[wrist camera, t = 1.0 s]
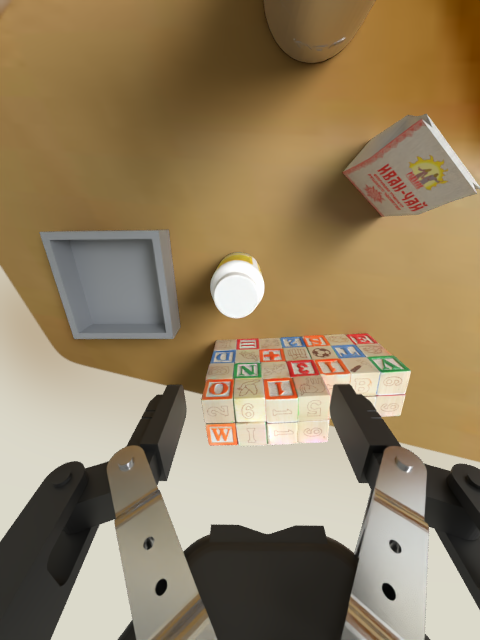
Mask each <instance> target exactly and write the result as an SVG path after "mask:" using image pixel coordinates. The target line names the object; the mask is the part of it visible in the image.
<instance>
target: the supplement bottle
mask: <svg viewBox="0 0 480 640" xmlns="http://www.w3.org/2000/svg"><path fill="white" fill-rule="evenodd" d="M210 290H211V295H212V298H213V300H214V302H215V305H216V307H217V308H218V310H219V311H220V312H221V313H222V314H224V315H225V316H228V317H231V318H242V317H245V316H247V315H249V314H250V313H252V312H253V311H254V309H255V308H256V306H257V305H258V304H259V303H260V301H261V299H262V297H263V294H264V280H263V277H262V274H261V270H260V267H259V265H258V263H257V261H256V260H255V259H254V258H253V257H252V256H250V255H249V254H246V253H242V252H235V253H232V254H229V255H227V256H226V257H225V258H224V259H223V260H222V261H221V262H220V264H219V266H218V267H217V269H216V271H215V273H214V274H213V276H212V279H211V284H210Z"/></svg>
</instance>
